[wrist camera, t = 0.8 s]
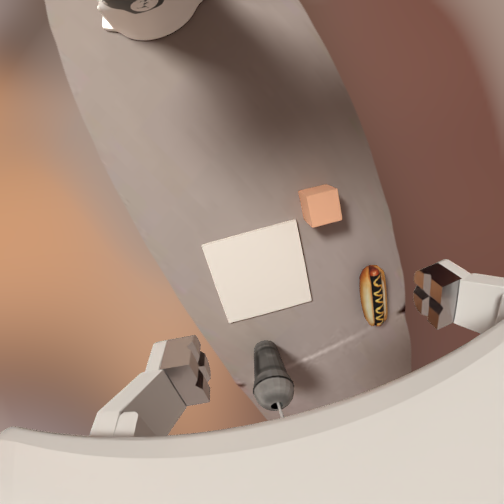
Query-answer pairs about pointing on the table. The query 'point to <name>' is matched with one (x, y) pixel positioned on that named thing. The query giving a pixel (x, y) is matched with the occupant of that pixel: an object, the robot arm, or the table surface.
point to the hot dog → (373, 295)
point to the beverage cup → (271, 378)
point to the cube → (320, 205)
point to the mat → (259, 271)
